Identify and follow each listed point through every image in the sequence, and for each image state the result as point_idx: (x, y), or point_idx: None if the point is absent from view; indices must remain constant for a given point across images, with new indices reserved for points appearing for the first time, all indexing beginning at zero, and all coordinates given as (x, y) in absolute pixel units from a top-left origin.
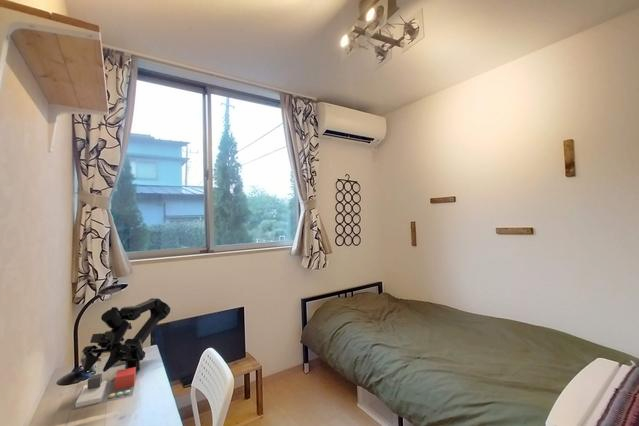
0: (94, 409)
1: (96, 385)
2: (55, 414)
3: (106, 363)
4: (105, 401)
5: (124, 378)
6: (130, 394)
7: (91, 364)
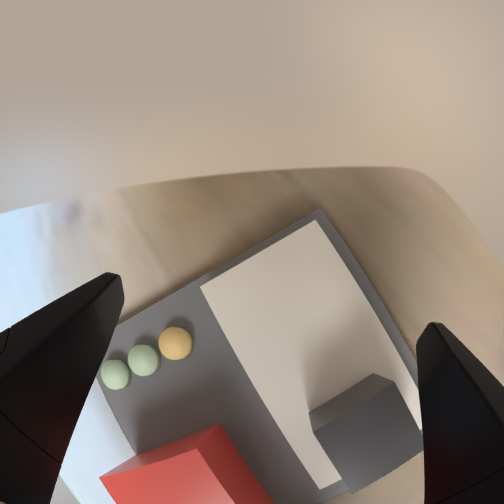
0: (218, 255)
1: (328, 404)
2: (388, 206)
3: (54, 318)
4: (183, 295)
5: (151, 459)
6: None
7: (442, 451)
